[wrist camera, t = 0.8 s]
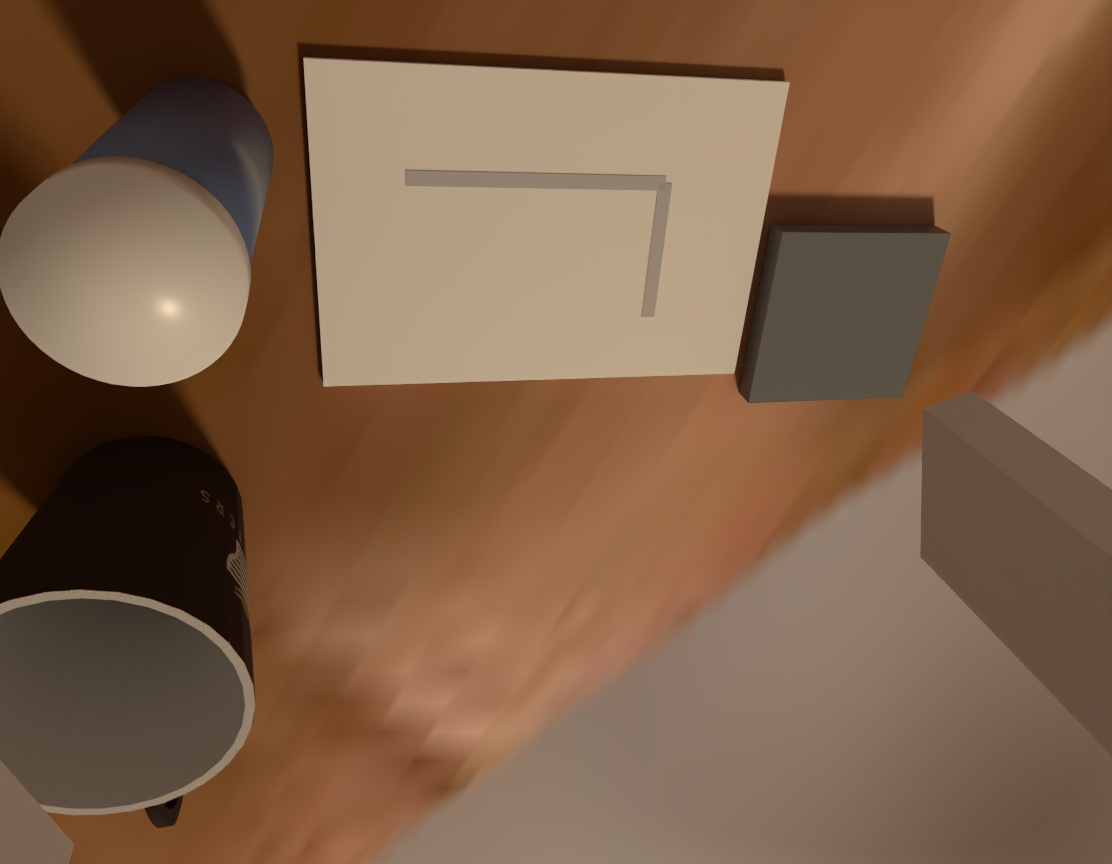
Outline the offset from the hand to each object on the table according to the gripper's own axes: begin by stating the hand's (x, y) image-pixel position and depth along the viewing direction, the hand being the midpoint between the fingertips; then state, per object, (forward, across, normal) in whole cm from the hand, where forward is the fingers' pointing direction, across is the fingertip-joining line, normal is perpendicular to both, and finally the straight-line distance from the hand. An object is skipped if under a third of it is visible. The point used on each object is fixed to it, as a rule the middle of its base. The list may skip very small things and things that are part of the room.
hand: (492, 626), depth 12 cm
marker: (+21, -5, +4) cm, 22 cm away
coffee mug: (+21, -13, -10) cm, 26 cm away
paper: (+21, +5, -2) cm, 21 cm away
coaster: (+20, +16, -9) cm, 27 cm away
